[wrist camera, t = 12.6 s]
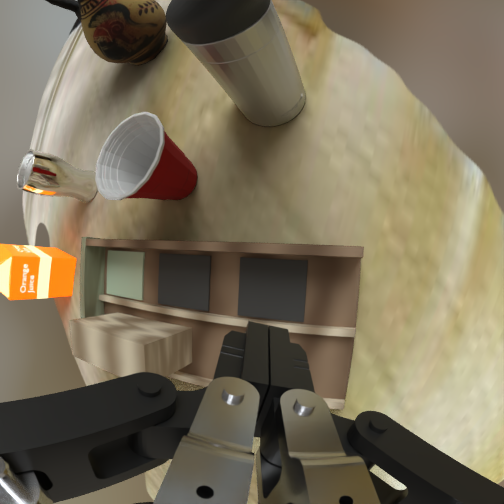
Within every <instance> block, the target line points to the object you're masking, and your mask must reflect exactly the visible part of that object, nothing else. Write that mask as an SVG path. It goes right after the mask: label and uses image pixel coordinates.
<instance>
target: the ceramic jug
mask: <svg viewBox="0 0 504 504" xmlns="http://www.w3.org/2000/svg"><path fill="white" fill-rule="evenodd" d="M46 1H48V2H49V3H51V4H53V5H57V6H59V7H62V8H65V9H68V10H71V11H73V12H75V13H76V16H77V17H78V19H79V20H80V21H81V23H82V28H83V31H84V35H85V38H86V40H87V42H88V44H89V45H90V47H91V48H92V49H93V51H94V52H95V53H96V54H97V55H98V56H99V57H101V58H102V59H104V60H106V61H108V62H112V63H129V62H130V63H131V64H134V65H140V64H143V63H146V62H148V61H151V60H152V59H154V58H155V57H156V56H157V55H158V54H159V52H160V51H161V50H162V49H163V48H164V47H165V45H166V44H167V42H168V39H167V35H165V30H166V22H167V21H166V16H165V13H164V10H163V9H162V7H161V6H160V5H159V4H158V3H157V2H156V1H155V0H78V1H75V0H46Z"/></svg>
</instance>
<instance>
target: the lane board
mask: <svg viewBox="0 0 504 504" xmlns="http://www.w3.org/2000/svg"><path fill="white" fill-rule="evenodd" d="M108 250H112V251H130V252H145V259H144V287H143V300H137V299H131V298H126V297H121V296H116V295H111V294H107V257H108ZM363 250H364V247H361V246H335V245H308V244H279V243H247V242H212V241H172V240H125V239H100V238H91V237H82V243H81V263H80V312H81V318H87V317H94V316H100V315H106V314H112V313H117V312H119V313H123V314H127V315H132V316H136V317H141V318H145V319H150V320H155V321H159V322H164V323H169V324H175V325H180V326H185V327H191V328H192V363H190V364H189V365H187V366H185V367H183V368H181V369H180V370H178V371H176V372H174V373H172V374H171V375H169V376H167V377H170V378H174V379H177V380H181V381H184V382H188V383H191V384H195V385H199V386H202V387H207V386H208V385H209V383H210V382H211V381H212V380H213V378H214V374H215V370H216V366H217V362H218V358H219V355H220V351H221V347H222V343H223V339H224V336H225V335H226V334H228V333H229V332H230V331H232V330H233V331H237V332H242V333H245V331H246V328H247V324H248V321H252V322H256V323H261V324H265V325H268V326H269V325H270V326H275V327H280V328H285V329H288V331H289V337H290V342H291V343H296V344H299V345H300V346H301V347H302V348H303V349H304V351H305V352H306V355H307V359H308V363H309V370H310V372H311V377H312V381H313V386H314V390H315V393H316V394H317V395H319V396H320V397H322V398H323V399H324V400H325V402H326V403H327V405H328V407H329V409H342V410H343V409H344V403H345V396H346V390H347V384H348V378H349V372H350V366H351V359H352V352H353V344H354V337H355V333H356V318H357V308H358V296H359V282H360V264H361V258H363ZM160 253H167V254H186V255H205V256H211V275H210V299H209V311H202V310H196V309H189V308H183V307H177V306H170V305H165V304H159V303H158V276H159V254H160ZM240 257H245V258H265V259H287V260H308V266H307V284H306V300H305V313H304V322H295V321H285V320H275V319H265V318H256V317H248V316H239V315H237V314H238V293H239V273H240Z"/></svg>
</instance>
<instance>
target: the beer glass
mask: <svg viewBox="0 0 504 504" xmlns="http://www.w3.org/2000/svg"><path fill="white" fill-rule="evenodd" d="M95 174H96V172H94V171H88V170H81V169H79V168H76V167H75V166H73V165H71V164H70V163H68V162H66V161H65V160H63V159H61V158H59V157H57V156H54V155H52V154H49V153H45V152H41V151H36V150H32V149H30V150H29V151H27V153H26V154H25V155H24V157H23V159H22V161H21V164H20V166H19V170H18V175H17V187H18V189H20V190H23V191H26V192H29V193H33V194H36V195H41V196H50V197H72V198H75V199H78V200H80V201H82V202H84V203H87V202H90V201H91V200H92V199H93V198H94V196H95V195H96V192H97V190H98V188H97V184H96V181H95Z"/></svg>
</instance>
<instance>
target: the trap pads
mask: <svg viewBox="0 0 504 504" xmlns="http://www.w3.org/2000/svg"><path fill="white" fill-rule="evenodd" d="M307 266H308V260H287V259H265V258H245V257H240V273H239V293H238V314H237V315H239V316H248V317H256V318H265V319H275V320H285V321H295V322H304V313H305V300H306V284H307ZM210 275H211V256H205V255H186V254H167V253H160V254H159V276H158V303H159V304H165V305H170V306H177V307H183V308H189V309H196V310H202V311H209V299H210Z"/></svg>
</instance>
